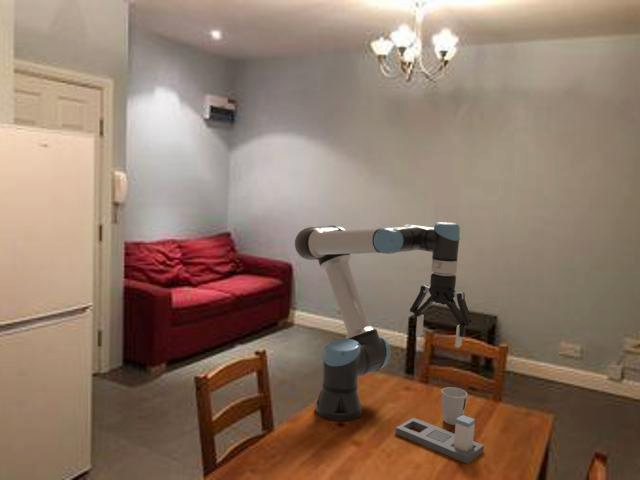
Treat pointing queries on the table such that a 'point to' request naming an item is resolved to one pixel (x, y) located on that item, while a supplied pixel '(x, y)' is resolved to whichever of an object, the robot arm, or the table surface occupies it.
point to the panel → (437, 440)
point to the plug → (464, 433)
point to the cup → (453, 404)
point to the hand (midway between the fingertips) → (438, 341)
